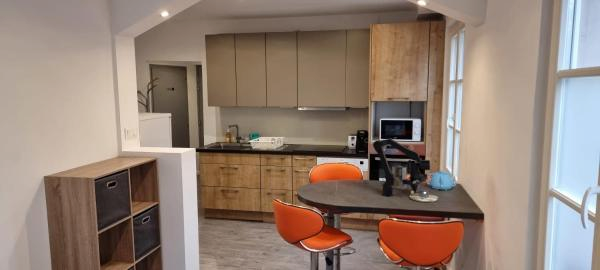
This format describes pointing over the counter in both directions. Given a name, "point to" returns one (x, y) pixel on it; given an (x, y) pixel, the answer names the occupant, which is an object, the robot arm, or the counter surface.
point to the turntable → (416, 197)
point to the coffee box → (399, 176)
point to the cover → (424, 193)
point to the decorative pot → (441, 180)
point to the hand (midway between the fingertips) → (414, 192)
